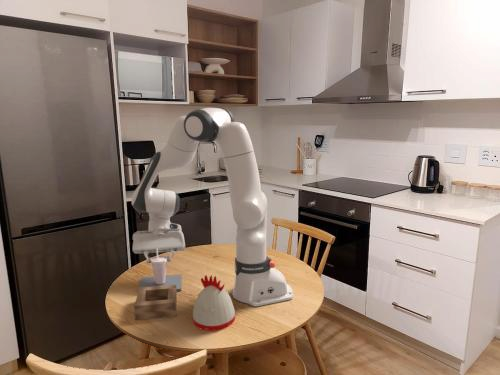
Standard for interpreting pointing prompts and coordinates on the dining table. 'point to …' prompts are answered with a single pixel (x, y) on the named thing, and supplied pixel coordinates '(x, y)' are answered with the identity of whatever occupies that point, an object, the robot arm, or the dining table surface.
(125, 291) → the dining table surface
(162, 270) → the smoothie
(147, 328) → the dining table surface
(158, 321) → the dining table surface
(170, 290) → the holder collar
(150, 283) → the rubber mat
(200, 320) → the kitchen timer
